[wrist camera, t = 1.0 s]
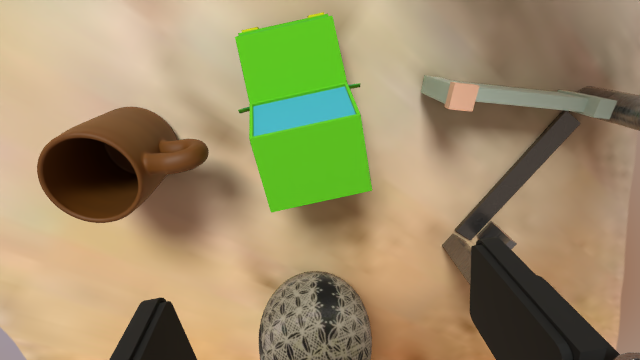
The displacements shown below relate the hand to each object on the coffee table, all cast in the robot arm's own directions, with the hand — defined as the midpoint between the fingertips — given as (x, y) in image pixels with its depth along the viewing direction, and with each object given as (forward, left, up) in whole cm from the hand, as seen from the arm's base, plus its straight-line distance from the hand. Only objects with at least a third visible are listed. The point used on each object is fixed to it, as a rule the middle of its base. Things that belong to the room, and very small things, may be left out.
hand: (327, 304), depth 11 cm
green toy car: (-2, -1, -26) cm, 26 cm away
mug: (+9, -10, -26) cm, 30 cm away
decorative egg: (+17, +13, -26) cm, 34 cm away
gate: (-13, +15, -25) cm, 32 cm away
